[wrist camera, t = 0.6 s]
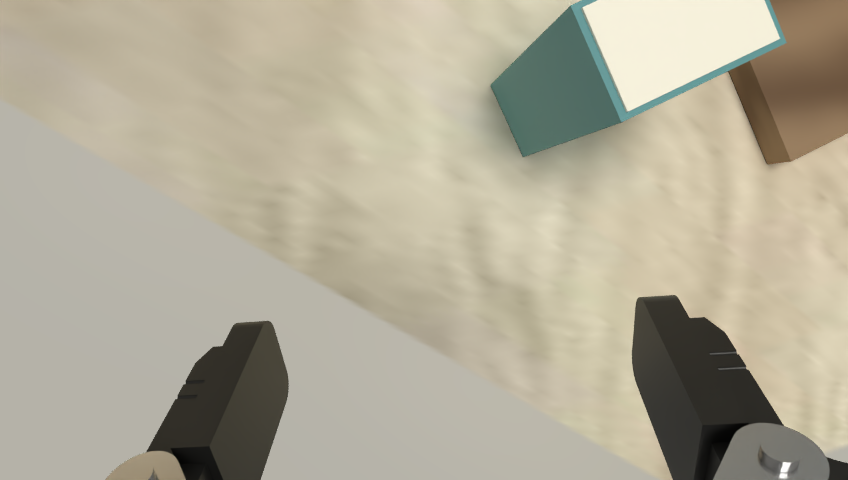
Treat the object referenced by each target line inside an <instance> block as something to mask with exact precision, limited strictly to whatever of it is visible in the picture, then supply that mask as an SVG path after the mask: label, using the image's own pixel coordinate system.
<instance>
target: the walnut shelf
mask: <svg viewBox="0 0 848 480" xmlns="http://www.w3.org/2000/svg"><path fill="white" fill-rule="evenodd" d="M770 3H771V5H772V8H773V10H774V13H775V15H776V18H777V20H778V22H779V25H780V27H781V30H782V32H783V35H784V37H785V40H786V42H787V43H785V44H783V45H781V46H779V47H777V48H775V49H773V50H771V51H769V52H767V53H765V54H763V55H760V56H758V57H756V58H754V59H752V60H750V61H748V62H746V63H744V64H742V65H740V66H738V67H736V68H733V69H731V70H729V73H730V76H731V78H732V81H733V83H734V85H735V88H736V90H737V93H738V95H739V97H740V100H741V102H742V105H743V107H744V109H745V112H746V114H747V117H748V119H749V121H750V124H751V126H752V129H753V131H754V133H755V136H756V138H757V141H758V143H759V145H760V148H761V150H762V153H763V155H764V157H765V160H766V162H767V164H773V163H781V162H790V161H793V160H795V159H797V158H799V157H801V156H803V155H805V154H807V153H809V152H811V151H813V150H815V149H817V148H819V147H821V146H823V145H825V144H827V143H829V142H831V141H833V140H835V139H837V138H839V137H841V136H843V135H845V134H847V133H848V0H770Z"/></svg>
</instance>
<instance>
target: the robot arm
mask: <svg viewBox="0 0 848 480" xmlns="http://www.w3.org/2000/svg"><path fill="white" fill-rule="evenodd" d="M632 364H633V372H634V377H635V380H636V383H637V386H638V389H639V391H640V394H641V397H642V399H643V402H644V405H645V407H646V410H647V412H648V415H649V418H650V420H651V423H652V426H653V428H654V431H655V434H656V436H657V439H658V441H659V444H660V447H661V449H662V452H663V455H664V457H665V460H666V462H667V465H668V468H669V470H670V473H671V476H672V478H673V480H848V463H844V462H840V461H836V460H833V459H830V458H827V457H826V456H825V455H824V453H823V452H822V450H821V449H820V448H819V447H818V446H817V445H816V444H815V443H814V442H813V441H812V440H810V439H809V438H807V437H806V436H804V435H803V434H801V433H799V432H797V431H795V430H793V429H790V428H788V427H785V426H784V425H783V424H782V422H781V421H780V419H779V417H778V416H777V414H776V413H775V411H774V409H773V408H772V406H771V405H770V403H769V402H768V400H767V398H766V397H765V395H764V394H763V392H762V390H761V389H760V387H759V386H758V384H757V382H756V381H755V379H754V378H753V376H752V375H751V373H750V371H749V370H747V369H746V365H745V363H744V362H743V360H742V359H741V357H740V356H739V354H738V355H737V352H736V349H735V348H734V346H733V344H732V343H731V341H730V340H729V338H728V336H727V335H726V333H725V332H724V331H722V330H721V329H720V328H718V327H717V326H716V325H714V324H713V323H712V322H710V321H709V320H708V319H706V318H705V317H702V318H689V316H688V315H687V313H686V311H685V309H684V308H683V306H682V304H681V302H680V300H679V299H678V297H677V296H675V295H669V296H654V297H639V298H638V299H637V302H636V308H635V321H634V334H633V347H632ZM287 397H288V374H287V370H286V367H285V364H284V361H283V357H282V353H281V350H280V346H279V343H278V340H277V337H276V333H275V330H274V327H273V325H272V323H271V322H269V321H261V322H260V321H259V322H245V323H236V324H235V325H233V327H232V329H231V331H230V333H229V335H228V337H227V339H226V340H225V343H224V344H223V346H220V347H213V348H211V349H210V350H209V351H208V352H207V353H206V354H205V355H204V356H203V357H202V358H201V359H199V360H198V361H197V362H196V363H195V365H194V367H193V369H192V370H191V372H190V374H189V376H188V378H187V380H186V384H185V385H183V387H182V389H181V390H180V392H179V394H178V399H176V400H175V401H174V403H173V405H172V406H171V409H170V410H169V412H168V414H167V416H166V417H165V419H164V421H163V423H162V425H161V426H160V428H159V430H158V432H157V434H156V435H155V437H154V439H153V441H152V443H151V445H150V446H149V448H148V450H147V452H146V453H143V454H139V455H137V456H135V457H132V458H130V459H129V460H127V461H125V462H124V463H122V464H121V465H119V466H118V467H117V468H116V469H115V470H114V471H113V472H112V473H111V474H110V475H109V476H108V477H107V478H106V480H261V476H262V473H263V471H264V468H265V464H266V461H267V458H268V455H269V452H270V449H271V446H272V443H273V440H274V437H275V434H276V431H277V428H278V425H279V422H280V419H281V416H282V413H283V410H284V407H285V404H286V401H287Z"/></svg>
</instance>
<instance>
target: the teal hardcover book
mask: <svg viewBox="0 0 848 480" xmlns="http://www.w3.org/2000/svg"><path fill="white" fill-rule="evenodd" d="M785 43H787V42H786V40H785V37H784V35H783V32H782V30H781V27H780V25H779V22H778V20H777V18H776V15H775V13H774V10H773V8H772V5H771V3H770V0H582V1H580V2H577V3H575V4H573V5H571V6H570V7H569V8H568V9H567V10H566V11H565V12H564V13H563V14H562V15H561V16H560V17H559V18H558V19H557V20H556V21H555V22H554V23H553V24H552V25H551V26H550V27H549V28H548V29H547V30H545V31H544V32H543V33H542V34H541V35H540V36H539V37H538V38H537V39H536V40H535V41H534V42H533V43H532V44H531V45H530V46H529V47H528V48H527V49H526V50H525V51H524V52H523V53H522V54H521V55H520V56H519V57H518V58H517V59H516V60H515V61H514V62H513V63H512V64H511V65H510V66H509V67H508V68H507V69H506V70H505V71H504V72H503V73H502V74H501V75H500V76H499V77H498V78H497V79H496V80H495V81H494V82H493V83H492V84H491V88H492V90H493V92H494V94H495V96H496V99H497V101H498V103H499V105H500V107H501V110H502V112H503V114H504V116H505V118H506V121H507V123H508V125H509V127H510V129H511V132H512V134H513V136H514V138H515V140H516V143H517V145H518V147H519V149H520V151H521V154H522V156H523V157H525V156H528V155H530V154H533V153H536V152H539V151H542V150H545V149H547V148H550V147H553V146H556V145H559V144H562V143H564V142H567V141H570V140H573V139H576V138H579V137H581V136H584V135H587V134H590V133H593V132H596V131H598V130H601V129H604V128H607V127H610V126H612V125H615V124H618V123H621V122H623V121H625V120H627V119H629V118H632V117H634V116H636V115H638V114H640V113H642V112H644V111H646V110H648V109H650V108H652V107H654V106H656V105H659V104H661V103H663V102H665V101H667V100H669V99H671V98H673V97H675V96H677V95H679V94H681V93H684V92H686V91H688V90H690V89H692V88H694V87H696V86H698V85H700V84H702V83H704V82H706V81H708V80H711V79H713V78H715V77H717V76H719V75H721V74H723V73H725V72H727V71H729V70H731V69H733V68H736V67H738V66H740V65H742V64H744V63H746V62H748V61H750V60H752V59H754V58H756V57H758V56H760V55H763V54H765V53H767V52H769V51H771V50H773V49H775V48H777V47H779V46H781V45H783V44H785Z"/></svg>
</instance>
